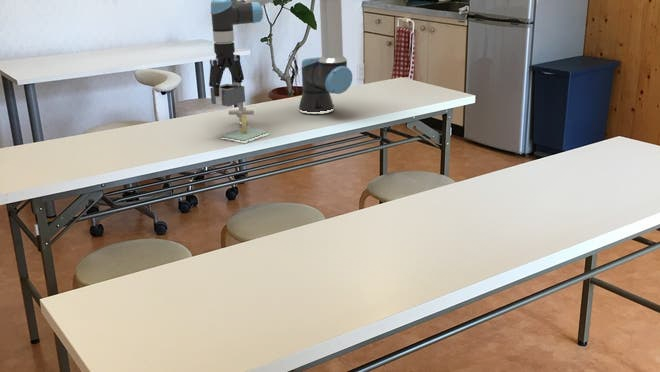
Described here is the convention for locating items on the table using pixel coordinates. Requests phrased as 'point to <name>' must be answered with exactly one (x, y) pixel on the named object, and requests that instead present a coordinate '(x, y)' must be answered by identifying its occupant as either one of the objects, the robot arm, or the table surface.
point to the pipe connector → (241, 111)
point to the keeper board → (243, 136)
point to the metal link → (230, 94)
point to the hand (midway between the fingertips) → (228, 101)
